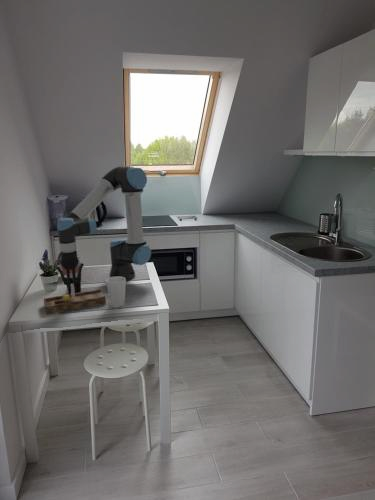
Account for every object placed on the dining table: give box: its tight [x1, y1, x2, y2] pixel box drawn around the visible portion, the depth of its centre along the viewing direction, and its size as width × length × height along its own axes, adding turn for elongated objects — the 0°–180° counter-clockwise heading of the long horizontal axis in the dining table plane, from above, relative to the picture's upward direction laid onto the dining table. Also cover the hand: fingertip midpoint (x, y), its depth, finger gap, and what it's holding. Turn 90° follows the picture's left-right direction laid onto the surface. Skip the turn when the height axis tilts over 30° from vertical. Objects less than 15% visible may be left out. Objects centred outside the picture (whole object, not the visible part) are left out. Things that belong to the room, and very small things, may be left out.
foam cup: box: [105, 276, 127, 308], centre depth 189 cm, size 10×9×13 cm
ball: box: [63, 294, 70, 302], centre depth 189 cm, size 4×4×4 cm
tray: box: [43, 288, 107, 315], centre depth 192 cm, size 28×12×4 cm, turn 114°
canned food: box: [61, 254, 81, 278], centre depth 236 cm, size 11×11×12 cm
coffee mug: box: [64, 273, 82, 295], centre depth 208 cm, size 12×9×10 cm
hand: (73, 297), depth 191 cm, fingers closed
